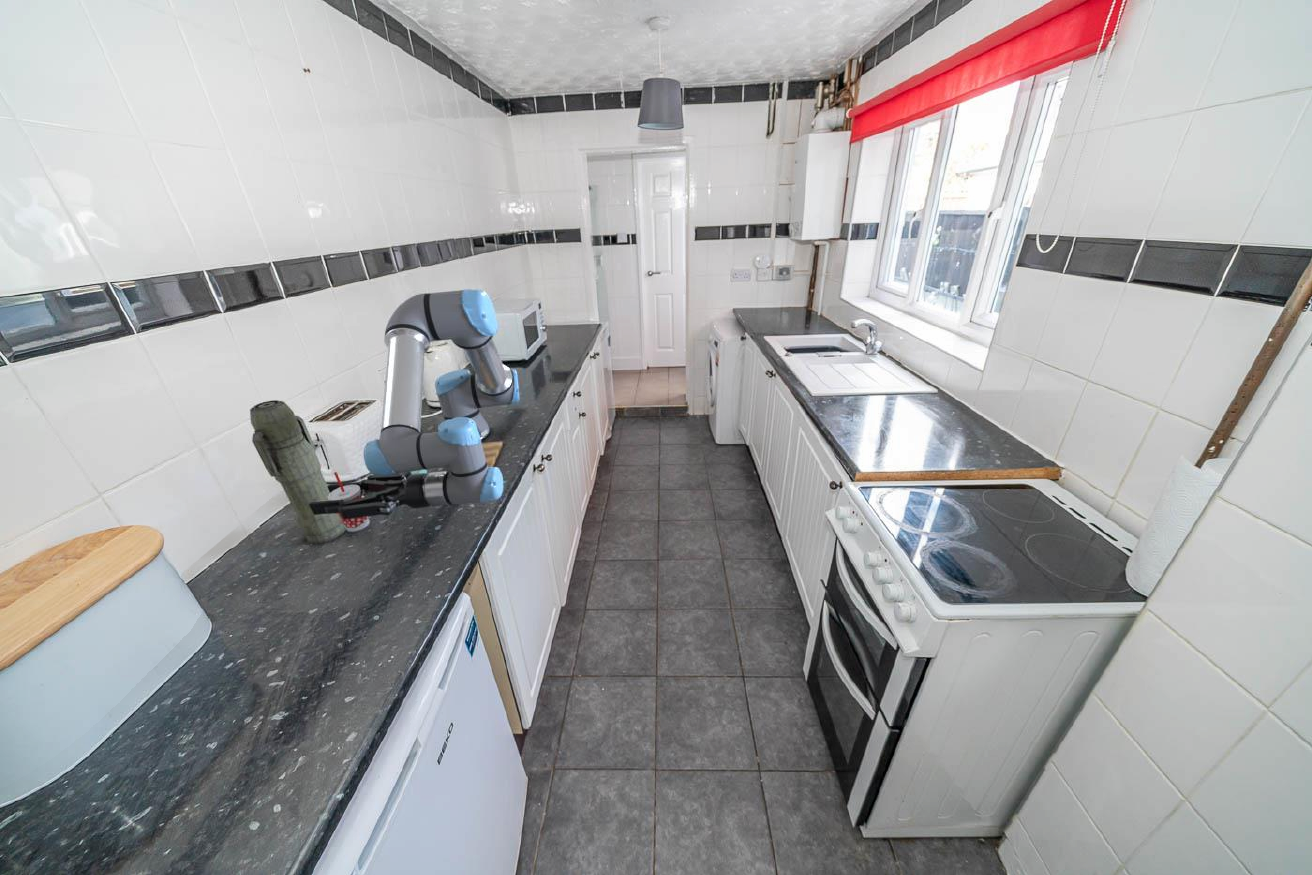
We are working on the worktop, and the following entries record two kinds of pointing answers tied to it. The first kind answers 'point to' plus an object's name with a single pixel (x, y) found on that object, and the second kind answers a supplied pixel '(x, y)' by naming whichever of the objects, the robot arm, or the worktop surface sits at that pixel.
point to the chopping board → (491, 452)
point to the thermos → (294, 466)
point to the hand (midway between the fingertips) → (321, 499)
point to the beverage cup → (349, 494)
